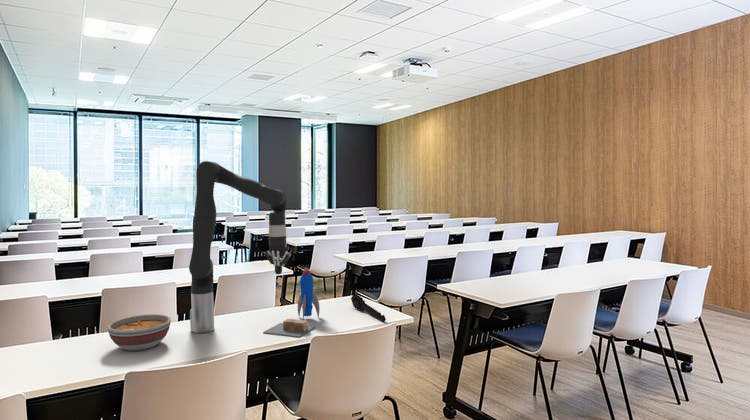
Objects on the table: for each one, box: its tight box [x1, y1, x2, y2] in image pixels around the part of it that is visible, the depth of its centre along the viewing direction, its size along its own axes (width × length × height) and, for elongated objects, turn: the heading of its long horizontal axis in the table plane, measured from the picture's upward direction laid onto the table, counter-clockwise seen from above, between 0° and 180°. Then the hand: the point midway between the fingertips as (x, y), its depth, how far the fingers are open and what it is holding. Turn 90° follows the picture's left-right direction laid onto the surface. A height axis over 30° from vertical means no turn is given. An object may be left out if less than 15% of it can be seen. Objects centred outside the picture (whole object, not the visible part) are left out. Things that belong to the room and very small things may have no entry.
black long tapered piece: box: [350, 293, 387, 323], centre depth 237 cm, size 35×4×8 cm, turn 28°
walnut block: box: [282, 318, 309, 332], centre depth 210 cm, size 4×4×10 cm
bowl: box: [107, 313, 172, 352], centre depth 194 cm, size 23×23×10 cm
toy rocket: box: [297, 266, 320, 320], centre depth 227 cm, size 11×10×25 cm
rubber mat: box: [262, 322, 316, 338], centre depth 212 cm, size 18×14×1 cm
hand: (278, 273), depth 212 cm, fingers closed
